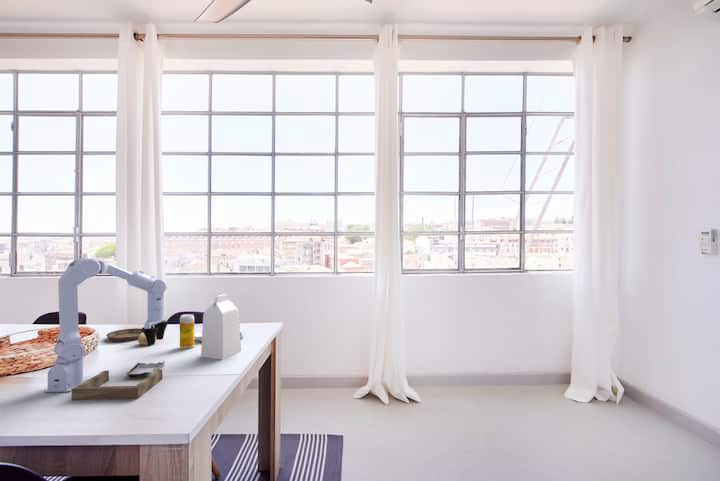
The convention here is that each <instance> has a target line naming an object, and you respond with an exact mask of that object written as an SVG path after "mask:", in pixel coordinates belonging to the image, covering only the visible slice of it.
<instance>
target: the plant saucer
mask: <svg viewBox="0 0 720 481" xmlns="http://www.w3.org/2000/svg"><path fill="white" fill-rule="evenodd" d="M142 332H143V331H142V328H140V327H139V328H124V329H118V330H114V331H111V332H110V331H109V332H108V333H106V337H107V339H108V340H110V341H111V342H114V343H115V342H117V343H119V342H120V343H121V342H123V343H124V342H131V341H136V340H137V341H138V336H139V335H140V334H141V333H142Z"/></svg>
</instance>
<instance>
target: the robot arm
mask: <svg viewBox="0 0 720 481" xmlns="http://www.w3.org/2000/svg"><path fill="white" fill-rule="evenodd" d="M144 273H145V272H144V271H143V270H139V271H133V272H131V271H129V270H125V269H124V268H122V267H119V266H117V265H114V264H112V263H109V262H106V261H102V260H97V259H95V258H86V257H78V258H76V259H74V260H73V261H71V262H70V263H68V265H67V268H66V269H65V271H63V273H62V275H61V276H60V277H59V280H58V282H57V284H58V285H57V286H58V290H57V291H58V315H59V316H58V317H59V333H58V335H57V341H56V344H55V346H54V348H53V349H54V353H55V355H57V357H56V359H55V363H54V365H53V366H52V367H50V369H49V370H48V372H47V389H46V390H44V392H45V393H60V392H61V393H65V392H67V393H68V392H72V389H73V388H75V387H76V386H78V385H80V384H82V383H83V382H85V381H87V380H89V379H90V378H84V371H83V370H84V365H83V364H84V354H85V352H86V348H85V345H84V344H83V342H82V336H81V334H80V328H79V300H78V298H79V297H78V296H79V295H78V287H79V285H81V284H82V283H84V282H85V281H86V280H87V279H90V278H93V277H94V276H97V275H99V274H100V275H104V274H107V275H111V276H114V277H116V278H120V279H122V280H126V281H127V283H128V284H127V285H129V286H132V287H135V288H137V289H140V290H143V291H145V292H147V320H146V322H145V323H144V326H142V327H141V329H142V331H143V333H144V334H145V336H146V339H147V343H148V346H154V345H155V344H156V341H159V340H160V341H161V340H163V339H164V336H165V333H166V332H165V331H166V328H167V326H168V324H169V321H168V319H167V316H166V315H165V314H164V311H165V310H164V309H165V307H164V305H165V304H164V303H165V300H164V296H165V292H166V290H167V288H168V287H167V286H166V282H164V281H163V280H162V279H156V277H155V276H150V275H147V274H144ZM155 338H157V340H156V341H155Z"/></svg>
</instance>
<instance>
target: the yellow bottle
mask: <svg viewBox="0 0 720 481" xmlns="http://www.w3.org/2000/svg"><path fill="white" fill-rule="evenodd" d="M194 334H195V316H194V314H192V313H191V314H190V313H188V314H186V313H185V314H182V315H180V317H179V347H180V349H181V350H187V349H188V350H189V349H192V348H194V346H195V338H194Z"/></svg>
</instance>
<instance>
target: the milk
mask: <svg viewBox="0 0 720 481" xmlns="http://www.w3.org/2000/svg"><path fill="white" fill-rule="evenodd" d="M228 294H229V293H228ZM228 294H227V293H223V294H220V295H216V296H215V298H214V300H213V303H212V304H210V306H209V307H208V308H207V309H206V310H205V311H204V312H203V314H202V341H201V350H200V351H201V352H200V357H202V358H210V359H216V360H217V359H218V360H222V361H223V360H225V359H227V358H229V357H231V356H235V355H236V354H239V353H240V352H242V342H241V340H242V339H240V328H241V325H240V323H241V322H240V311H239V309H238V308H237V306H235V304H234V303H233V302H232V301H231V300H230V298H229V295H228Z"/></svg>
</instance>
